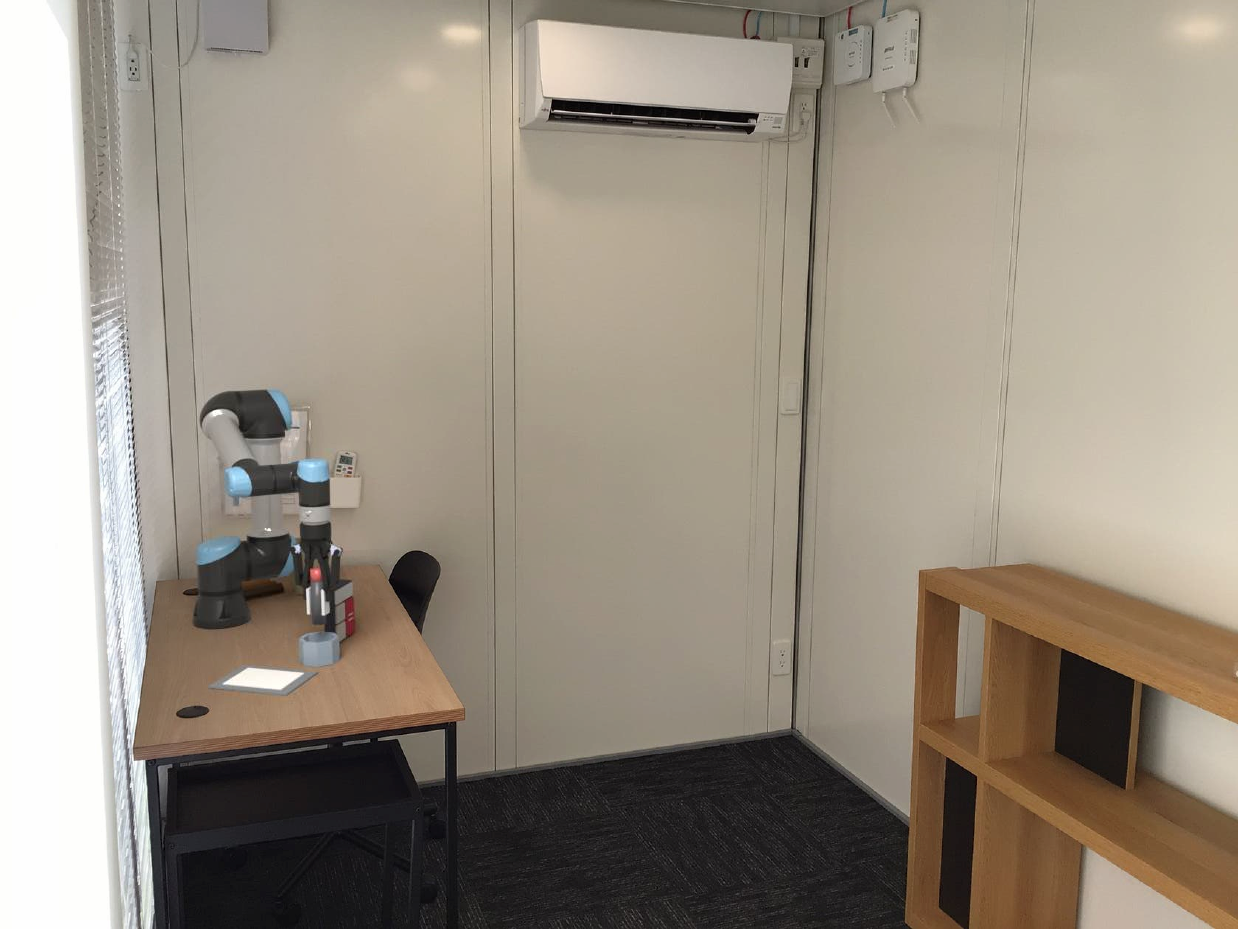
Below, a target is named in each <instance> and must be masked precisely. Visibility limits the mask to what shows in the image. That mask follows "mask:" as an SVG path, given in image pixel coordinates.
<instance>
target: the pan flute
mask: <svg viewBox="0 0 1238 929" xmlns="http://www.w3.org/2000/svg"><path fill="white" fill-rule="evenodd" d="M271 579H272V578H270V579H263V580H255V581H247V582H242V592H243V595H244V598H245V600H246V601H248V600H253V598H254V599H257V597H258V598H263V597H267V595H268V596H272V594H273V595H276V594H282V593H285V587H284V585H283V583H282V582H277V581H276V579H274V580H271ZM281 592H282V593H281Z"/></svg>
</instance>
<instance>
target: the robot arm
mask: <svg viewBox="0 0 1238 929" xmlns="http://www.w3.org/2000/svg"><path fill="white" fill-rule="evenodd" d="M292 416H293V415H292V409H291V406H290V402H289V401H288V398H287V396H286V394H285V393H284V392H283V391H281V390H280V389H267V388H265V389H250V390H226V391H223V392H219V393H217V394H215V395H214V396H212V397H211V398H210V399H208V401H206V402H205V403H204V405H203V407H202V408H201V411H200V414H199V426H200V429H201V430H202V433H203V434H204V436H205V437H206V438H207V439H209V440H210V441H211V442H212V443H213V446H214V448H215V449H216V451H217V454H218V456H219V458H220V459H221V460H222V462H223V465H224V467H225V471H224V475H223V484H224V489H225V493H226V495H227V496H228V497H229V498H232V499H236V498H238V499H239V498H241V499H246V498H250V510H251V514H250V515H251V516H250V517H251V528H250V529H249V530H248V531H247V532H246V539H245V540H241V538H240V537H239V536H235V535H229V536H226V535H224V536H219V537H214V538H211V539H207V540H205V541H203V542H202V543H200V544H199V545H198V546H197V548H196V554H195V564H196V576H197V577H196V578H197V599H196V603H195V606H194V610H193V612H192V613H193V614H192V625H194V626H195V625H196V626H195V627H197V626H198V627H197V628H201V627H202V629H224V628H225V629H227V628H231V627H236V626H239V625H243V624H245V623H247V622H249V620H250V619H251V614H250V613H251V611H250V608H249V606H248V603H247V600H245V598H244V595H243V592H242V582H247V581H255V580H263V579H274V580H276V579H278V578H282V577H289V575H290V574H291V573H292V572H293V570H294V575H295V584H296V585H300V586H302V587H303V595H302V596H303V600H304V601H306V614H307V615H312V613H311V587H310V585H311V584H310V569H311V568H313V566H314V560H315V559H317V560H318V563H319V565H320V570H321V575H322V581H323V586H324V588H323V589H322V590H321V605H322V615H324V616H325V615H326V614H328V613H330V605H329V602H330V601H332V588H334V587H336V586H338V585H339V581H340V579H341V576H340V574H341V556H342V553H343V551H344V548H342V547H337V546H335V545H334V543H333V541H331V540H332V523H331V520H332V511H331V510H332V509H331V478H330V477H331V471H330V465H329V461H327V459H324V458H307V459H306V458H305V459H301V460H292V461H289V462H288V463H282V462H281V461H282V460H281V459H282V458H281V455H282V454H281V442H283V440H285V438H286V431H290V430H291V429H292V427H293V426H292V425H293V424H292V423H293V417H292ZM286 494H298V511H299V512H298V513H299V514H298V516H299V519H298V520H299V521H300V523H299V537H301V540H300V542H299V544H298V545H296V540H295V538H296V537H295V536H293V535H291V534H290V530H289V529H288V528H287V527H286V526H285V524H284V507H283V506H284V502H283V495H286ZM330 550H331V552H330ZM301 551H303V552H304V553H305V559H304V562H305V566H304V571H303V561H302V553H301ZM329 552H330V556H331V558H329V557H328V553H329ZM330 559H331V560H330ZM328 560H329V562H330V563H331V564H330V563H329V562H328Z"/></svg>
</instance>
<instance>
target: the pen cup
mask: <svg viewBox="0 0 1238 929" xmlns="http://www.w3.org/2000/svg"><path fill="white" fill-rule="evenodd" d="M298 650H299V651H298V653H299V657H298V658H299V662H300V663H301V664H302V665H303V666H305V667H312V668H313V667H314V668H320V667H325V666H330V665H331V666H332V665H334V664H335V663H337V662H338V661H340V660H341V659H340V656H341V655H340V642H339V636H338V635H336V634H335V633H333V632H325V631H316V632H308V633H305V634H304V635H302V636H300V637H299V638H298Z"/></svg>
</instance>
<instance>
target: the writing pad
mask: <svg viewBox="0 0 1238 929" xmlns="http://www.w3.org/2000/svg"><path fill="white" fill-rule="evenodd" d="M318 674H319V671H312V670H303V669H293V668H281V667H272V666H270V667H269V666H262V665H250V664H249V665H248V664H242V665H241V666H239V667H238V668H236V669H235V670H233V671H231V672H230V673H228V674H227V675H225V676H223V677H221V678H219V679H218V680H216V681H215V682H213V683H211V684H210V685H208V686H207V688H208V689H212V688H215V689H214V690H222V689H224V690H225V691H232V690H234V692H244V693H253V692H254V693H256V694H265V695H274V696H275V695H276V696H284V697H287V696H288V695H291V693H293V692H294V691H296V690H297V689H298V688H300V687H301V686H302V685H304V684H305V683H307V682H308V681H309V680H311V679H312V678H313V677H315V676H316V675H318Z"/></svg>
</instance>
